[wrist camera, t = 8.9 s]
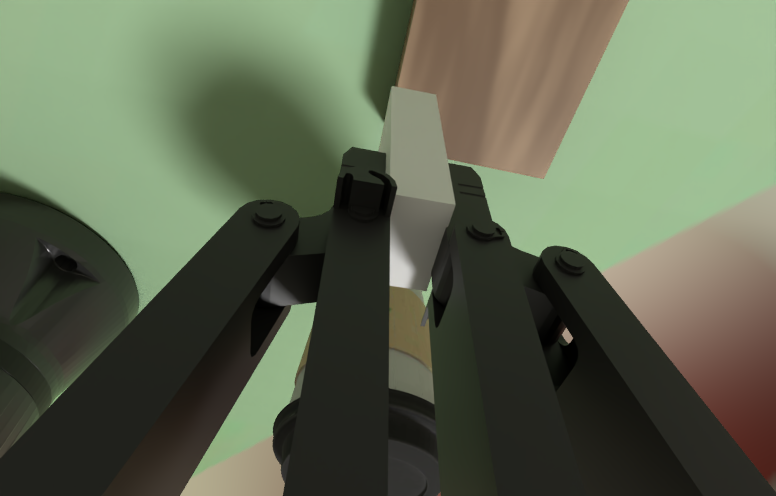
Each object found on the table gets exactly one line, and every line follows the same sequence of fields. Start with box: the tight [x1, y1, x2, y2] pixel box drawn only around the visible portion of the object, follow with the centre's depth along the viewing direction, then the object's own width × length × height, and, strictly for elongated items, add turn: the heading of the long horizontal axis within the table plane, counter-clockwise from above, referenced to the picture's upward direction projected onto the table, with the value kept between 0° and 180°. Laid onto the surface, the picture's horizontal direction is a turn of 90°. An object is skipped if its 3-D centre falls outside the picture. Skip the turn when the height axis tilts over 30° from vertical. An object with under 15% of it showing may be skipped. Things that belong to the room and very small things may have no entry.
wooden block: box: [395, 0, 629, 179], centre depth 24 cm, size 3×10×9 cm
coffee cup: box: [273, 286, 441, 496], centre depth 29 cm, size 9×9×15 cm
